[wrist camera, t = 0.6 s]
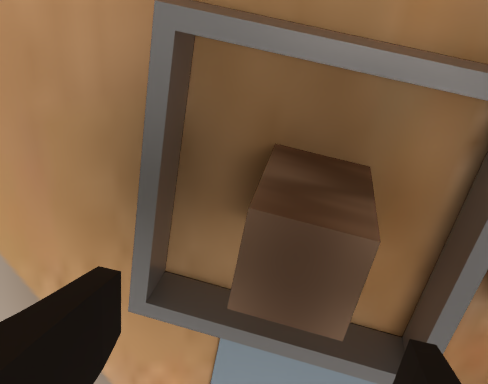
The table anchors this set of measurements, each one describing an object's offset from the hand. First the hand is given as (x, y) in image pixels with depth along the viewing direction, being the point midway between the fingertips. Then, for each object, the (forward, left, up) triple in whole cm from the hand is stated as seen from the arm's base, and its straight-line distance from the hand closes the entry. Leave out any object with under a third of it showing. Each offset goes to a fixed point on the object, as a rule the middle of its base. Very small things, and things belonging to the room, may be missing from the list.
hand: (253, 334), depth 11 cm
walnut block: (-1, 0, -9) cm, 9 cm away
